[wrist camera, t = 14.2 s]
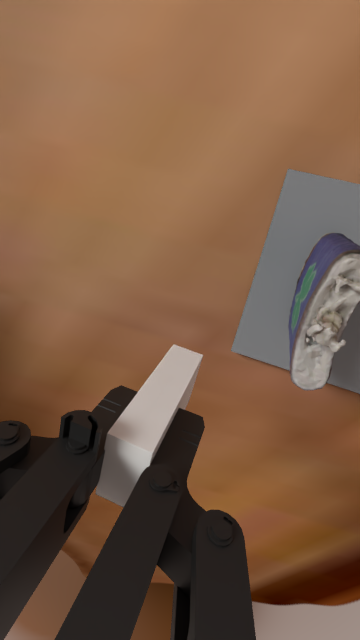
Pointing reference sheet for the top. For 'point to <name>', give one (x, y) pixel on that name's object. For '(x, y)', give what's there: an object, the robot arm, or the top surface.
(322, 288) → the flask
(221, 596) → the robot arm
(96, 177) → the top surface
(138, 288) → the top surface
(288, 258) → the slate board
